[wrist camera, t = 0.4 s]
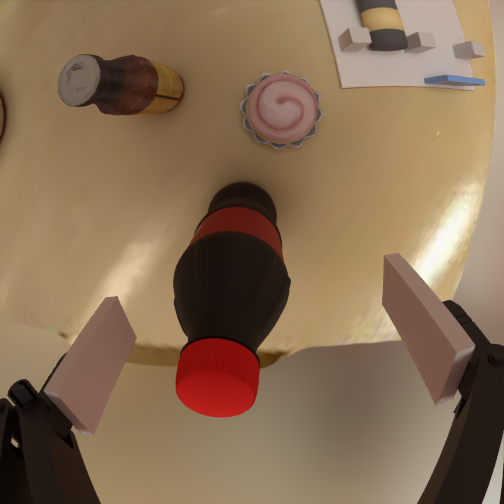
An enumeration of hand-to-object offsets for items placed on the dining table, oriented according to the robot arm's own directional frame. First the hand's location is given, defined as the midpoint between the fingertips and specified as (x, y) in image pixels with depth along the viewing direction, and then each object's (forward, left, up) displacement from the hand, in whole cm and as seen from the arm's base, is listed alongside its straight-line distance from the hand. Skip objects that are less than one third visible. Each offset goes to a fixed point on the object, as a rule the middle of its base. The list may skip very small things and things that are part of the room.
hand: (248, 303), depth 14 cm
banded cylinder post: (-22, +20, -26) cm, 40 cm away
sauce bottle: (-15, -9, -27) cm, 32 cm away
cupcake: (-9, +5, -27) cm, 29 cm away
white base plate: (-21, +25, -27) cm, 42 cm away
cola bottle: (+3, -2, -27) cm, 27 cm away
